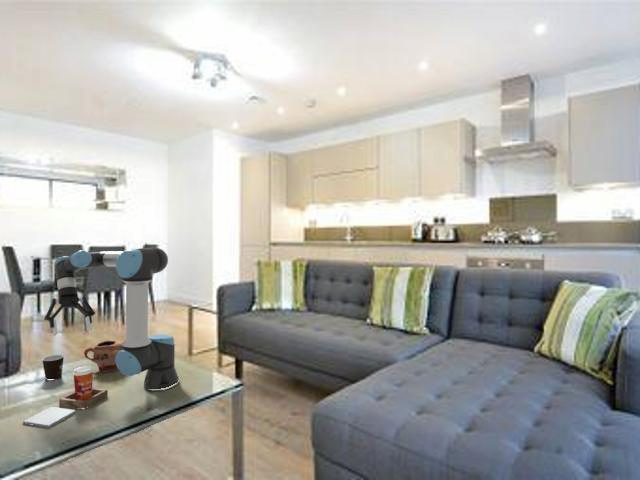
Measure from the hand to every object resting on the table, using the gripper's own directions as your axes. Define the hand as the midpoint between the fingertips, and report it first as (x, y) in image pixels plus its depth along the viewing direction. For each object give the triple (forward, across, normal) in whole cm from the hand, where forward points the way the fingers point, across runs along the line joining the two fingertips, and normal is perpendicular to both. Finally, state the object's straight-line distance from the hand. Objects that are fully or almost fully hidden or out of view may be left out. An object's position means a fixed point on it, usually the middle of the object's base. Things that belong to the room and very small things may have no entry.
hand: (72, 332), depth 178 cm
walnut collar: (+31, 0, +4) cm, 31 cm away
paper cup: (+31, 0, +4) cm, 32 cm away
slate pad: (+35, +14, +8) cm, 38 cm away
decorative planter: (+16, -21, -22) cm, 34 cm away
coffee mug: (+13, -1, -30) cm, 33 cm away
